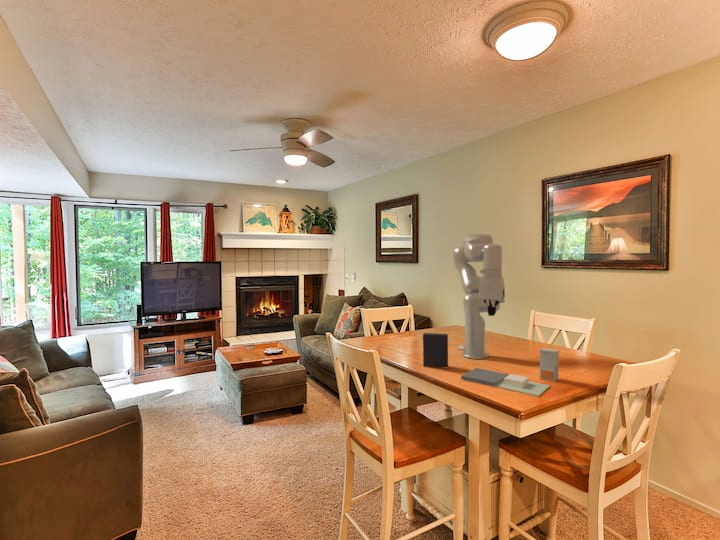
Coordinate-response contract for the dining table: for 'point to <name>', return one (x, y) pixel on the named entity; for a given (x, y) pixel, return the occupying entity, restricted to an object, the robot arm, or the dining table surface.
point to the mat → (527, 388)
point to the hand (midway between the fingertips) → (491, 315)
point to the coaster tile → (516, 381)
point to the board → (484, 376)
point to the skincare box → (549, 364)
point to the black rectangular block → (435, 350)
